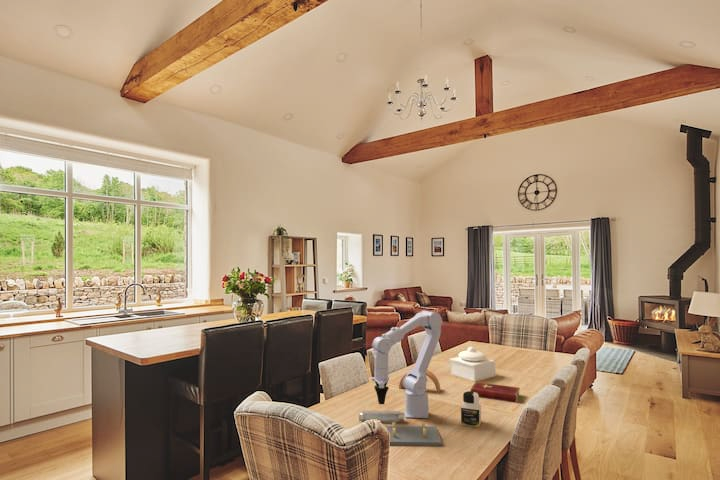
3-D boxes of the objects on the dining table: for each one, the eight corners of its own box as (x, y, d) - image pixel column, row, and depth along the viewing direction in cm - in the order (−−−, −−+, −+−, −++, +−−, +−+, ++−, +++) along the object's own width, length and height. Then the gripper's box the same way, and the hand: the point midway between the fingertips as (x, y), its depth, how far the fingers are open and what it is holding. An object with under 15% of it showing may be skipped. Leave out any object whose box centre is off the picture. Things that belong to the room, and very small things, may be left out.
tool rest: (436, 429, 163) (436, 419, 163) (441, 445, 149) (441, 434, 149) (379, 428, 164) (379, 418, 164) (379, 444, 150) (379, 433, 150)
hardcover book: (516, 403, 193) (516, 394, 193) (470, 396, 202) (470, 387, 202) (520, 395, 203) (519, 387, 203) (475, 389, 213) (475, 381, 213)
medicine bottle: (461, 425, 167) (460, 394, 168) (463, 418, 174) (463, 389, 174) (479, 427, 165) (479, 396, 165) (481, 420, 171) (480, 391, 172)
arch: (401, 385, 218) (401, 366, 219) (440, 389, 212) (440, 369, 212) (398, 389, 213) (398, 369, 213) (438, 393, 206) (438, 372, 206)
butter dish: (495, 376, 235) (495, 347, 235) (473, 382, 225) (473, 352, 225) (470, 369, 249) (470, 342, 250) (449, 374, 239) (449, 346, 240)
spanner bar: (403, 419, 173) (403, 410, 173) (404, 422, 170) (404, 413, 170) (359, 418, 174) (359, 410, 174) (358, 422, 170) (358, 413, 171)
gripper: (371, 362, 180) (371, 394, 179) (371, 371, 165) (371, 406, 165) (388, 362, 180) (388, 394, 179) (389, 372, 165) (389, 407, 165)
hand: (381, 400), depth 172 cm, fingers open, 7 cm apart
